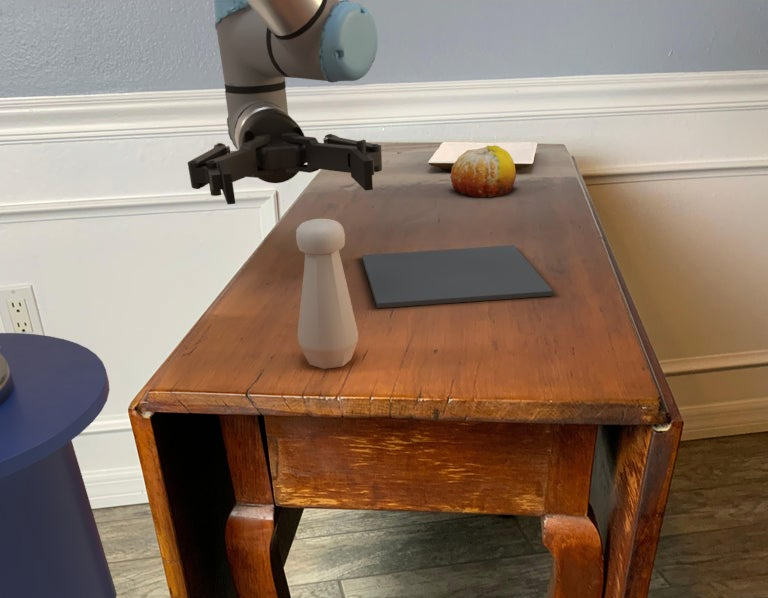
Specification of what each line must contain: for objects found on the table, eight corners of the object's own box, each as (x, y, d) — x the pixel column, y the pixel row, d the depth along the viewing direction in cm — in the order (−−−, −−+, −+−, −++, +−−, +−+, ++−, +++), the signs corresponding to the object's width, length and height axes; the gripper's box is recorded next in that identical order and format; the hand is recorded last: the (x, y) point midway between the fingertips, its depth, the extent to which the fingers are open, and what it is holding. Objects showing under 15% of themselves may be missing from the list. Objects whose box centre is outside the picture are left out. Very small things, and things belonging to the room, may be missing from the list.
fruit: (453, 179, 137) (468, 130, 132) (510, 199, 136) (527, 151, 131) (440, 192, 128) (455, 141, 123) (500, 214, 127) (518, 164, 122)
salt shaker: (364, 368, 75) (357, 227, 67) (304, 375, 74) (290, 233, 67) (353, 345, 80) (345, 211, 72) (296, 351, 79) (283, 216, 71)
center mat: (376, 308, 88) (376, 303, 87) (362, 259, 103) (362, 254, 102) (552, 296, 89) (553, 290, 89) (513, 249, 104) (513, 244, 104)
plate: (441, 153, 158) (442, 141, 157) (536, 153, 155) (537, 142, 153) (427, 173, 143) (427, 161, 142) (532, 174, 140) (532, 162, 138)
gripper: (374, 167, 98) (423, 209, 81) (169, 187, 93) (176, 235, 76) (371, 99, 93) (423, 128, 77) (156, 116, 89) (160, 152, 72)
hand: (300, 182), depth 76 cm, fingers open, 13 cm apart
